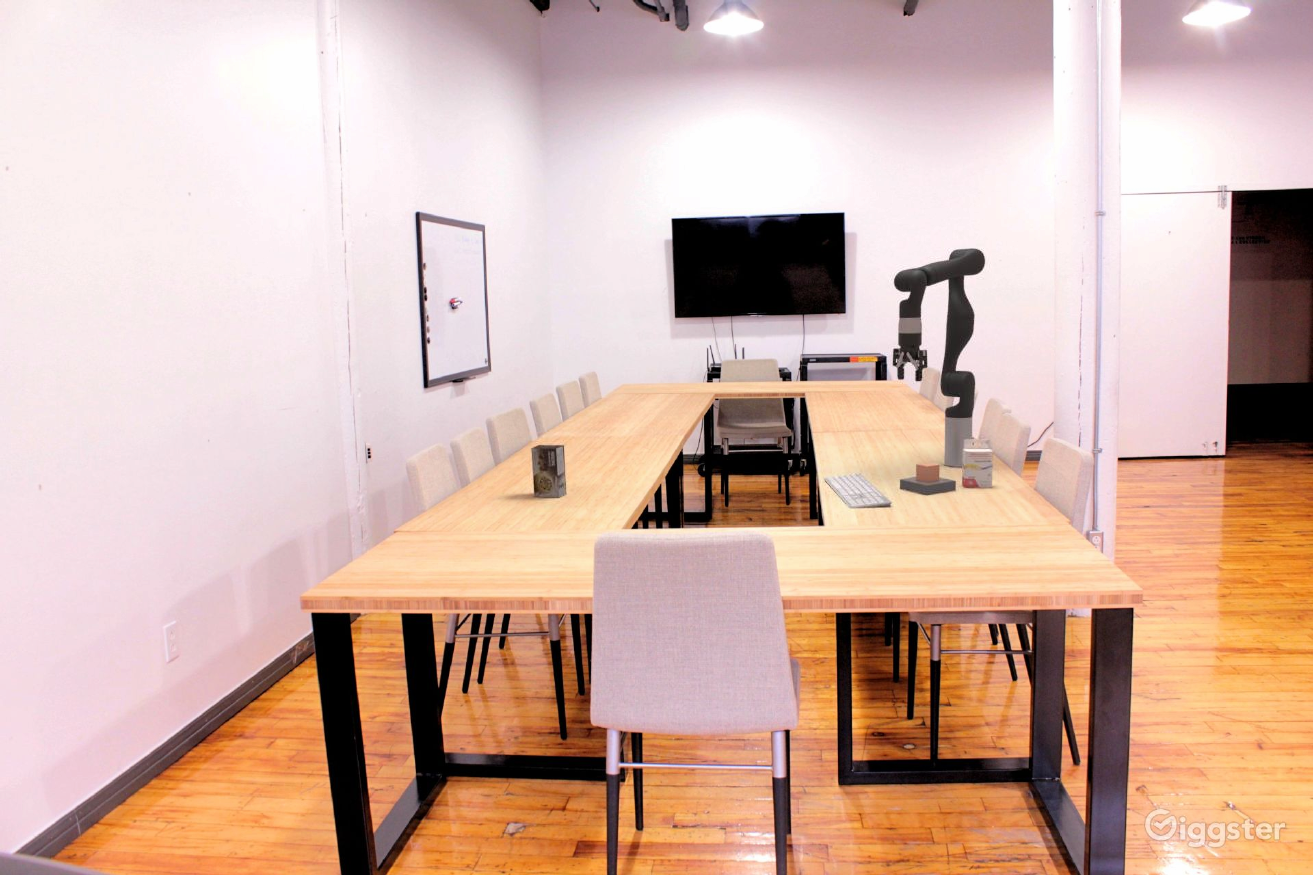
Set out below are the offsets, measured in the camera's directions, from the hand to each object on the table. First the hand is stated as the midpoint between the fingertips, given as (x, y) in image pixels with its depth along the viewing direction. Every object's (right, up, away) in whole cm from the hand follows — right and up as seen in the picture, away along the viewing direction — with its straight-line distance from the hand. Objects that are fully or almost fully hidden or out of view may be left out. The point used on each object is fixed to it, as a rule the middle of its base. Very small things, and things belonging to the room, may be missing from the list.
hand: (909, 380), depth 337 cm
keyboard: (-22, -37, -19) cm, 47 cm away
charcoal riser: (+1, -35, -19) cm, 40 cm away
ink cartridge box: (+18, -35, -16) cm, 42 cm away
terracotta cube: (+1, -32, -19) cm, 38 cm away
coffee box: (-119, -38, -10) cm, 125 cm away
